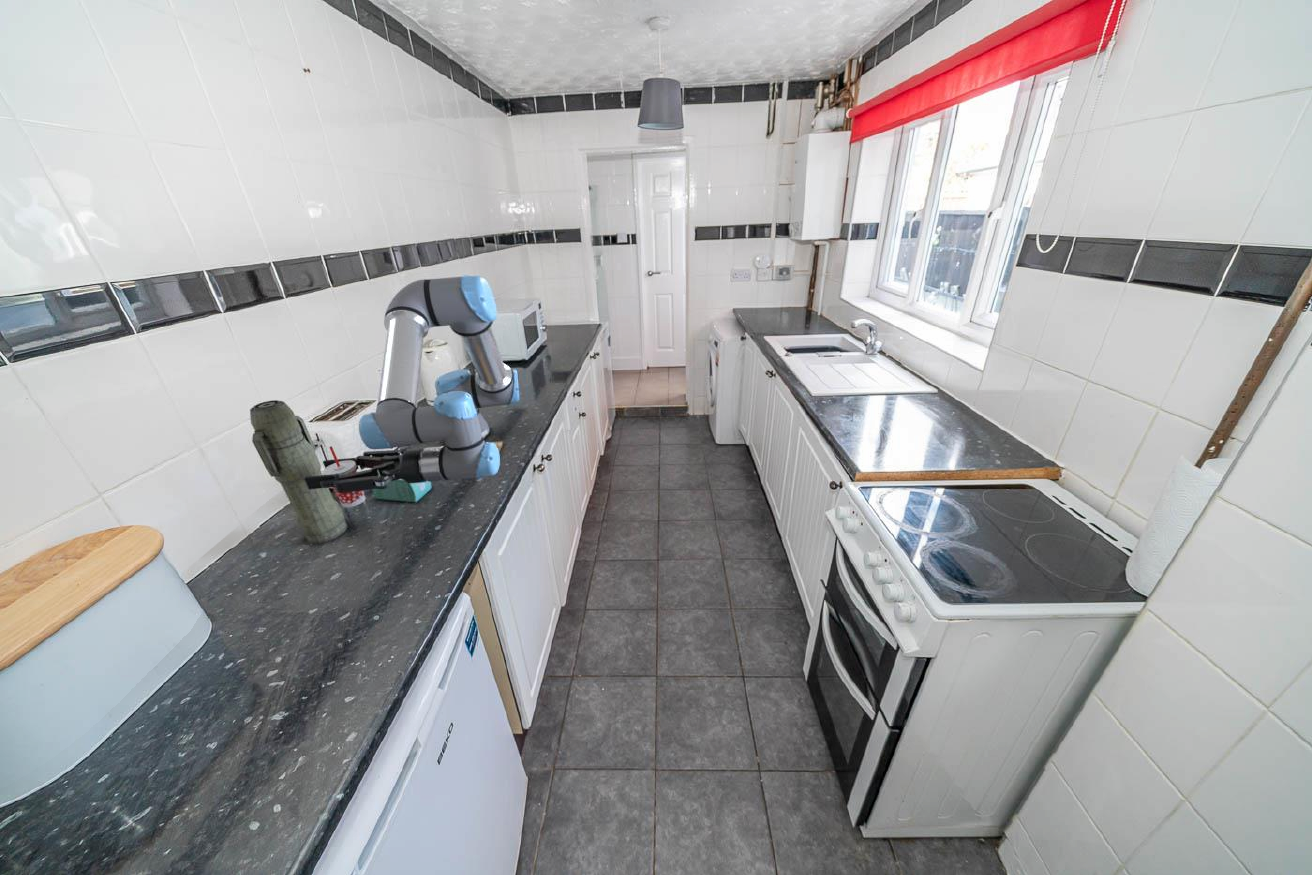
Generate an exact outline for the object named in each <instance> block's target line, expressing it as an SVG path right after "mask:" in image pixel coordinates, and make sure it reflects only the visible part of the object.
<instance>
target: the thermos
mask: <svg viewBox="0 0 1312 875" xmlns="http://www.w3.org/2000/svg"><path fill="white" fill-rule="evenodd" d="M249 415H250V424H251V425H252V428H253V430H254V431H253V434H252V439H251V442H252V444H253V446H254V448H255V450H256V452H257V453H258V456H259V457H260V460H261V461H262V463H263V465H264V467H265V469H266V471H267V472H268V474H269V476H270V477H274V480H275V481H276V482H278V483H279V484H280V485H281V487H282V489H283V492H284V493H285V495H286V497H287V499H288V501H289V503H290V505H291V507H292V510H293V511H294V513H295V521H296V523H297V525H298V527H299V529H300V532H301V533H302V534H303V535H304V536H305V538H306V541H307V542H308V543H310V544H315V545H316V544H322V543H323V544H324V543H326V542H330V541H332V540H334V539H336V538H338V537H339V536H341V535H342V534H344V533H345V532H346V531H347V528H348V523H347V521H346V520H345V515H344V513H343V510H342V509H341V506H340V504H339V502H337V501H336V500H335V499H334V497H333V495H332V493H331V491H330V489H329V488H319V489H309V488H308V486H307V484H306V481H305V479H304V478H305V477H307V476H319V475H323V473H322V470H321V469H322V464H321V462H320V460H319V459H318V456H317V454H316V450H317V448H316V445H315V443H314V441H313V439H312V437H311V435H310V432H309V430H308V428H307V425H306V423H305V421H304V419H303V418H302V417H300V416H299V415H295V413H294V411H293V410H292V408H291V407H290V406H289V405H288V404H287V403H286V402H285V401H283V400H277V399H275V400H267V401H263V402H260V403H257V404H255V405H253V407H251V408H250V409H249Z"/></svg>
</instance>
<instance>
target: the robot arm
mask: <svg viewBox="0 0 1312 875" xmlns="http://www.w3.org/2000/svg"><path fill="white" fill-rule="evenodd" d="M384 313H385V314H384V319H383V325H384V328H385V330H386V331H387V332H386V341H385V347H384V353H383V354H384V355H383V362H382V368H381V374H380V382H379V388H378V389H379V390H378V397H377V404H376V409H375V412H370V413H366V414H363V415H362V416H361V418H359V422H358V432H359V436H360V439H361V441H362V443H363V445H365V447H367V448H368V449H370V450H371V451H370V450H369V451H364V452H362V455H356V457H350V458H348V457H347V458H337V460H338V462H340V461H346V460H352V461H355V463H356V466H357V467H356V470H359V469H360V471H357V472H356V473H351V474H346V475H342V476H339V475H338V473H336V474H331V475H324V474H322V475H319V476H307V477H305V478H304V479H305V481H306V484H307V486H308V488H309V489H319V488H332V489H333V487H336V489H337V491H338V493H346V492H354V491H362V490H363V491H369V490H370V491H371V490H372V489H386V488H387V483H388V482H389V481H395V480H398V479H403V480H404V481H406V482H407V483H422V482H426V481H428V482H431V483H432V482H440V481H442V482H445V481H455V480H464V479H465V480H466V479H467V480H468V479H479V478H480V479H481V478H488V477H492V476H495V475H496V474H497V473H498V472H499V470H500V466H501V457H500V452H499V450H498V448H497V446H496V444H494V443H490V442H491V441H489V442H488V441H485V440H486V439H487V438H488V437H489V436H490V435H491V429H490V426H489V424H488V422H487V421H486V420H485V418H484V417H483V415H482V414H481V411H480V409H481V408H490V407H499V406H509V405H513V404H517V403H518V402H520V390H519V379H518V378H519V377H518V370H517V369H513V368H510V366H508V364H506V363H504V361H503V358H502V355H501V352H500V349H499V346H498V344H497V340H496V337H495V334H494V332H493V329H492V326H493V324H494V321H496V320H497V317H498V309H497V304H496V301H495V298H494V294H493V291H492V289H491V287H490V285H489V283H488V281H487V280H486V279H485V278H484V277H482V276H480V275H462V276H452V277H442V278H439V277H438V278H430V279H427V278H425V279H418V280H415V281H412V282H410V283H408V284H407V285H405V286H403V287H402V289H400V290H399V291H398V292H397V293H396V294H395V295H394V297H393V298H392V299H391V300H390V302H389V304H388V306H387V308H386V310H385V312H384ZM447 326H449V328H450V330H451V331H452V332H453V333H454V334H456V335H457V336H460V338H461V340H462V342H463V344H464V347H465V349H466V351H467V353H468V355H469V357H470V360H471V362H472V364H473V366H474V370H475V371H476V372H475V373H472V372H471V371H470V369H464V368H463V369H461V368H460V369H456V370H451V371H449V372H446V373H444V374H442V375H441V376H439V377H437V378H436V380H435V381H434V387H435V391H436V393H435V394H436V397H435V398H434V399H433V405H429V406H428V405H427V406H420V407H418V400H419V389H420V378H421V367H422V359H423V358H422V357H423V356H422V355H423V347H424V346H423V344H424V338H426V337H427V336H428V334H429V330H430V329H431V328H434V327H437V328H439V327H447ZM435 442H444V444H445V446H444V445H443V446H432V447H431V446H430V447H425V448H411V449H408V448H407V446H414V445H421V444H429V443H435ZM400 447H401V448H400ZM402 447H405V448H402ZM394 448H399V449H394ZM386 449H387V450H386ZM388 449H390V450H388ZM334 463H336V462H335V459H325V460H323V461H322V464H323V467H324V469H325V468H326V467H328V466H329V465H332V464H334ZM365 469H366V470H365ZM377 470H378V471H379V473H378V471H377ZM379 474H380V475H379Z"/></svg>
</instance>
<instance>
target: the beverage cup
mask: <svg viewBox="0 0 1312 875" xmlns="http://www.w3.org/2000/svg"><path fill="white" fill-rule="evenodd" d="M328 448H329V450H330V452H331V454H332V457H333V460H335V462H336V463H334V464H332V465H329V466H328V467H326V468H325V467H324V469H323V470H322V472H323V473H322V475H331V474H336V473H338V475H339V476H342V475H346V474H351V473H356V472H358V471H357V470H358V469H357V470H356V467H357V466H356V463H355V461H352V460H346V461H340V462H338V460H337V459H338V458H337V455H336V452H335V450H334V448H333V446H329V447H328ZM332 490H333V491H334V493H335V495H336V497H337V498H338V501H339V502H340V504H341V506H342V507H344V508H353V507H357V506H359V505H360V504H363V503H364V502H365V500H366V496H365V492H364V490H362V491H354V492H346V493H338V491H337V489H336V487H332Z"/></svg>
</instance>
